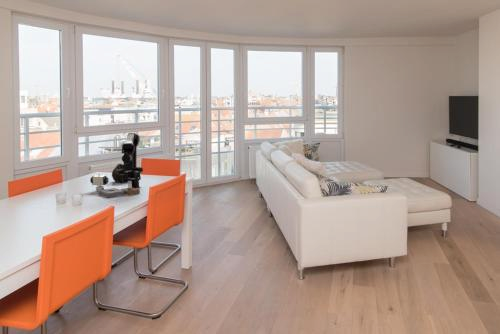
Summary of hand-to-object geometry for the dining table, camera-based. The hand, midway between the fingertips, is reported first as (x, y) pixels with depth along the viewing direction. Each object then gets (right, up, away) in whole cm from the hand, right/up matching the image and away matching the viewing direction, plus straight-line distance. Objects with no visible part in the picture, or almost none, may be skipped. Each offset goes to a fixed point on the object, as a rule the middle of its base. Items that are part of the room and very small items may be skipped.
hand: (129, 182), depth 301 cm
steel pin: (0, -8, +1) cm, 8 cm away
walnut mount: (0, -8, +1) cm, 8 cm away
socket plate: (-12, -8, -3) cm, 15 cm away
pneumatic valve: (-24, -6, +10) cm, 27 cm away
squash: (-18, -1, +43) cm, 47 cm away
